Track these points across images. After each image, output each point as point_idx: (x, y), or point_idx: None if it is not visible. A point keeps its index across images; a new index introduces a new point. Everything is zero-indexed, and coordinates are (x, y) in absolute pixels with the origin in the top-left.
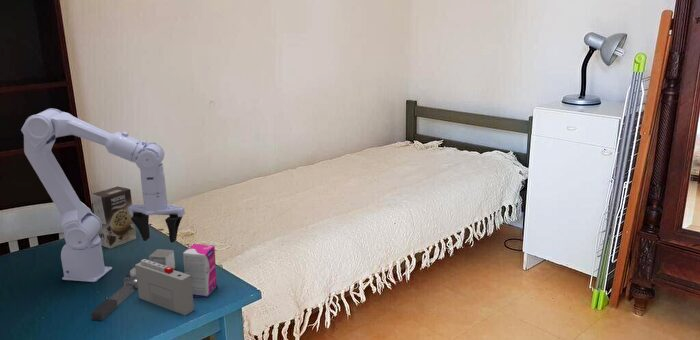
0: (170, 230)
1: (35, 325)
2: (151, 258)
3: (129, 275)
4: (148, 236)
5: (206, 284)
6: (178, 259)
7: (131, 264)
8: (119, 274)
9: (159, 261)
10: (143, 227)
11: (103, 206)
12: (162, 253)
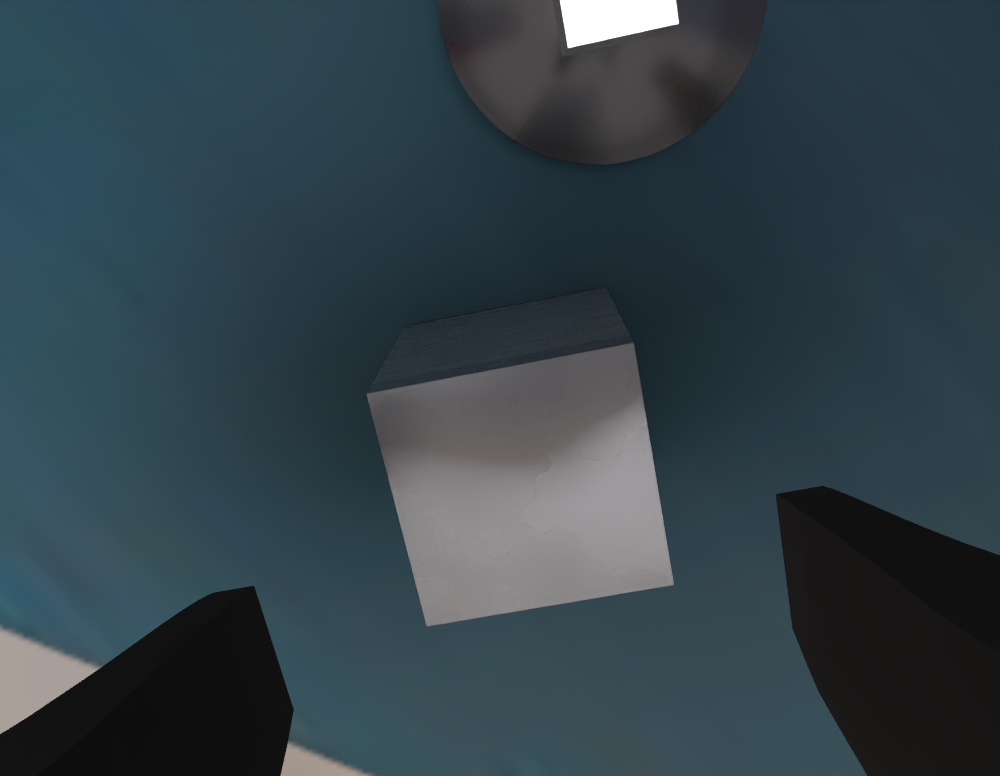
0: (44, 733)
1: None
2: (591, 343)
3: (729, 6)
4: (800, 624)
5: None
6: (544, 669)
7: (994, 411)
8: (980, 147)
9: (469, 354)
10: (920, 675)
11: None
12: (502, 491)
